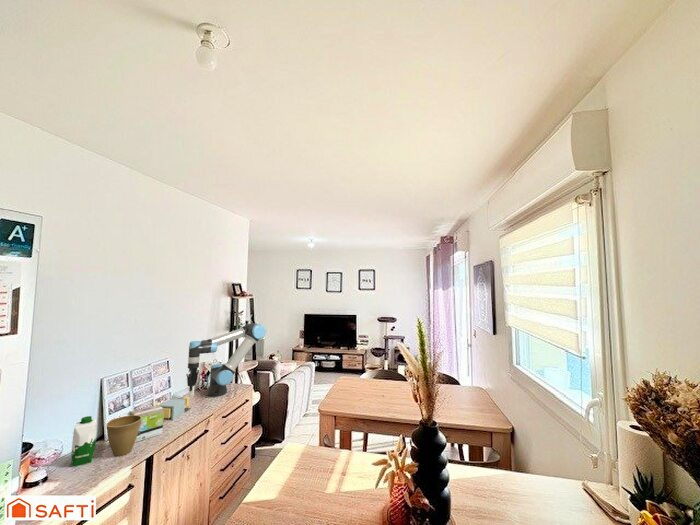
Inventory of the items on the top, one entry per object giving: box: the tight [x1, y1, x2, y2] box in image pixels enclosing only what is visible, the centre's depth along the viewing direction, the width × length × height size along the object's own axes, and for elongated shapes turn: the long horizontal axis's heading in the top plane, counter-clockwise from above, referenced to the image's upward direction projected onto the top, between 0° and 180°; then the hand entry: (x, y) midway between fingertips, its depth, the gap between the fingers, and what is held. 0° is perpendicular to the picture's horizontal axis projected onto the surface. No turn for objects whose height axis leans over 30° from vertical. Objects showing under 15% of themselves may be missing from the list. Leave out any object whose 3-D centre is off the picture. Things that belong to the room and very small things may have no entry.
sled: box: [164, 396, 191, 419], centre depth 212 cm, size 24×6×6 cm, turn 176°
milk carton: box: [71, 415, 98, 468], centre depth 152 cm, size 9×9×20 cm
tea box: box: [128, 404, 165, 443], centre depth 179 cm, size 15×10×15 cm, turn 143°
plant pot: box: [106, 415, 142, 457], centre depth 161 cm, size 15×15×16 cm
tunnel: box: [158, 398, 192, 423], centre depth 208 cm, size 33×10×9 cm, turn 176°
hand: (191, 394), depth 230 cm, fingers closed
